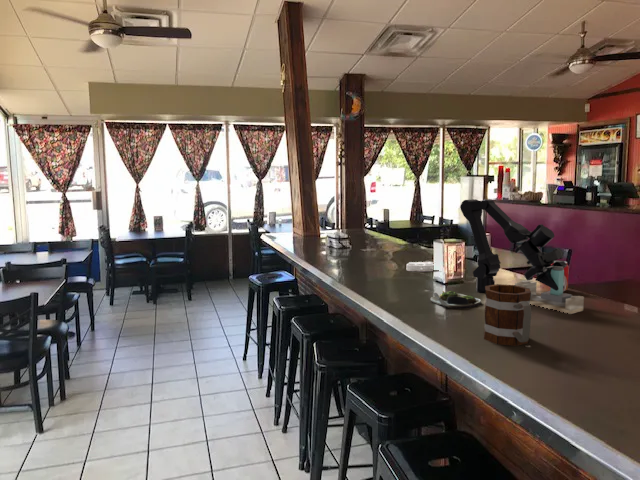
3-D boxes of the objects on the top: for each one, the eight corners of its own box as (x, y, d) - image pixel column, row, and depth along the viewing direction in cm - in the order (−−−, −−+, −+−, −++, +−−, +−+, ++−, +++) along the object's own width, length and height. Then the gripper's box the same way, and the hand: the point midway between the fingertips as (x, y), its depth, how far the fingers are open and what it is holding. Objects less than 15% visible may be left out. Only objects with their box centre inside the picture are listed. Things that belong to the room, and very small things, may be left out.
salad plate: (417, 300, 196) (417, 288, 195) (452, 294, 203) (453, 283, 203) (450, 312, 178) (450, 299, 178) (487, 305, 186) (488, 293, 185)
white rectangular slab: (435, 266, 264) (444, 272, 249) (402, 267, 262) (409, 273, 248) (435, 260, 263) (444, 265, 249) (402, 261, 262) (409, 266, 247)
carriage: (540, 298, 182) (542, 266, 181) (551, 295, 186) (552, 264, 184) (561, 302, 176) (563, 269, 174) (571, 300, 179) (573, 267, 177)
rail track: (514, 301, 191) (514, 282, 190) (526, 297, 195) (527, 279, 194) (571, 314, 172) (572, 293, 171) (583, 310, 176) (584, 290, 175)
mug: (474, 332, 155) (476, 284, 153) (516, 330, 156) (518, 283, 154) (503, 354, 136) (505, 301, 134) (550, 352, 137) (553, 299, 135)
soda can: (569, 292, 203) (571, 263, 201) (551, 291, 204) (552, 263, 202) (565, 288, 210) (566, 260, 208) (547, 288, 211) (548, 260, 209)
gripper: (533, 243, 176) (561, 279, 168) (563, 239, 186) (591, 273, 178) (513, 262, 184) (539, 297, 176) (542, 257, 194) (568, 290, 186)
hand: (560, 289), depth 179 cm, fingers closed on carriage, 3 cm apart
